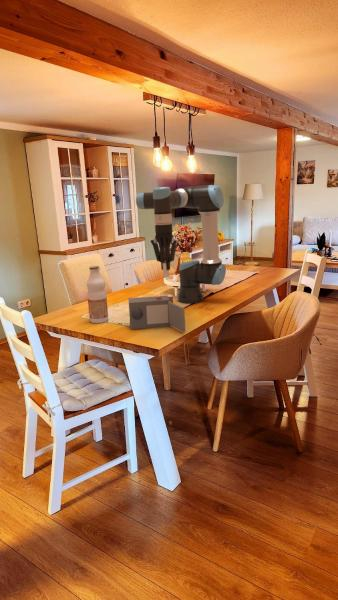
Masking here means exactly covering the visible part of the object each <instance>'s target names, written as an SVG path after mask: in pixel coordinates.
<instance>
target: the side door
mask: <svg viewBox="0 0 338 600" xmlns="http://www.w3.org/2000/svg"><path fill="white" fill-rule="evenodd" d="M168 304H169V326H170V327H169V328H174V329H177V330H178V331H180V332H182V333H185V332H186V317H185V314H186V313H185V307H184V306H181V305H179V304H177V303H174V302H173V303H171V301H169V302H168Z"/></svg>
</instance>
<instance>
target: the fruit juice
mask: <svg viewBox="0 0 338 600" xmlns="http://www.w3.org/2000/svg"><path fill="white" fill-rule="evenodd" d="M100 269H101V268H100V266H99V265H91V266H89V278H88V280H87V282H86V288H87V290H88V291H87V294H86V295H87V305H88V315H89V316H88V317H89V322H90V323H92V324H101V323H102V324H103V323H106V322H108V321H109V310H108V300H107V299H108V298H107V296H108V295H107V291H106V289H105V288H106V282H105V279H103V277H102V275H101V272H100Z"/></svg>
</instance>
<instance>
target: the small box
mask: <svg viewBox="0 0 338 600" xmlns="http://www.w3.org/2000/svg"><path fill="white" fill-rule="evenodd" d="M155 296H168V298H169V300H170V301H171V303H174V296H173V294H160V295H155Z"/></svg>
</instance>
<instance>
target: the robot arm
mask: <svg viewBox="0 0 338 600" xmlns="http://www.w3.org/2000/svg"><path fill="white" fill-rule="evenodd" d="M224 197H225V196H224V194H223V191H222V188H221V187H220V186H219V185H217V184H207V185H206V184H205V185H193V186H187V187H183V188H177V189H175V190H171V188H170V186H159V187H158V186H156V187H154V188H153V189H152V191H151V192H149V191H148V192H146V191H145V192H144V191H143V192H139V193H138V194H137V195H136V197H135V205H136V206H137V208H138V209H140V210H153V214H154V215H153V217H154V224H155V225H154V231H155V237H154V238H153V239H151V240H150V243H151V245H152V247H153V248H152V249H153V251H154V254H155V258H156V261H157V262H160V267H161V271H162V272H163V273H162V274H163V275H162V276H163V278H166V279H167V278H168V277H170V270H171V263H172V262H174V261H175V256H176V251H177V246H178V243H179V240H178V239H176V238H175V237H174V235H173V224H172V223H173V216H172V215H173V213H172V209H179V208H186V209H187V208H188V209H197V211H198V212H197V213H198V214H199V215H200V216H201V218H200V219H201V234H202V235H201V236H202V237H201V238H202V256H203V257H202V260H201V261H200V260H197V259H196V260H195V259H194V260H186V261H184V262H181V263H180V265H179V270H178V271H179V286H180V287H179V291H178V294H177V301H178V302H179V303H182V304H197V303H200V302H201V303H202V302H203V301H204V294H203V292H202V289H201V285H210V286H211V285H212V286H214V285H215V286H216V285H217V286H218V285H219V286H220V285H221V284H222V283H223V282H224V280H225V278H226V274H227V273H226V272H227V269H226V265H225V264H224V263H222V262H223V261H222V258H220V255H219V253H220V252H219V226H218V214H219V213H220V211H221V208H223V206H224V202H225V201H224V200H225V199H224Z"/></svg>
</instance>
